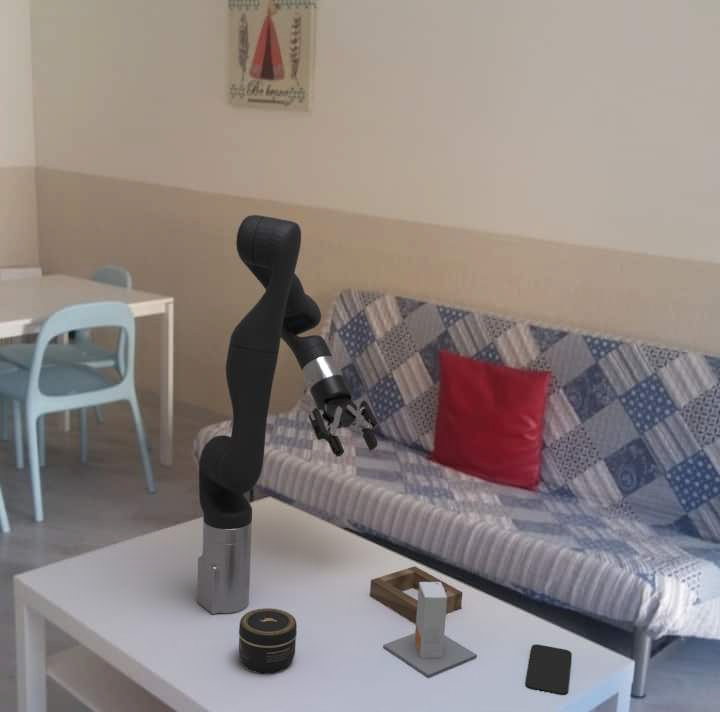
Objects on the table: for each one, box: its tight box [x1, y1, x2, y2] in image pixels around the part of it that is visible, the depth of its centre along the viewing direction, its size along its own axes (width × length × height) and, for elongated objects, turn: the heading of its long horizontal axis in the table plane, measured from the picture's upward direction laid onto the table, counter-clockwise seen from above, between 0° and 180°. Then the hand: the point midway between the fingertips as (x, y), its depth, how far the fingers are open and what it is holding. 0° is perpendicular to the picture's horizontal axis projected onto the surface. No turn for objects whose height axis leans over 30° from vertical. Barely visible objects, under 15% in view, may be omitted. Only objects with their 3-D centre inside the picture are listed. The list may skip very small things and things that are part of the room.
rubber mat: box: [382, 632, 478, 679], centre depth 175 cm, size 12×12×1 cm
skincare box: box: [414, 582, 447, 658], centre depth 173 cm, size 6×4×12 cm
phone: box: [524, 644, 573, 696], centre depth 172 cm, size 7×1×15 cm
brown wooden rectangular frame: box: [369, 566, 463, 625], centre depth 193 cm, size 12×14×4 cm
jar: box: [238, 607, 298, 674], centre depth 168 cm, size 10×10×8 cm
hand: (357, 451), depth 194 cm, fingers open, 8 cm apart
